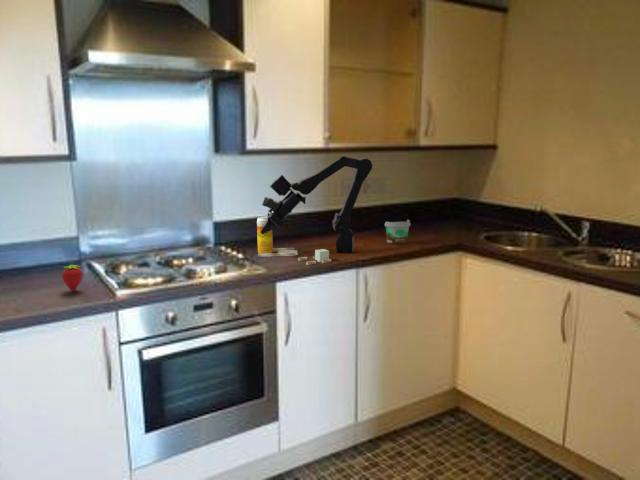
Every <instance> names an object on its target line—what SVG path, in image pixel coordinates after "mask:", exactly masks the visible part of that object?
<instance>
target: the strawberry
mask: <svg viewBox="0 0 640 480" xmlns="http://www.w3.org/2000/svg"><path fill="white" fill-rule="evenodd" d="M82 266H83V265H76V264H73V262H71V263H70V264H69V265H67V266H64V267H62V268H63V269H64V270H63V271H62V273H61V274H62V275H61V277H62V280H63V282H64V283H65V285H66V286H67V287H68V288H69V290H70V291H71V292H72V293H74V292H75V291H77V289H78V287H79V285H80V284H81V282H82V280H83V275H84V274H83V270H82V269H81V267H82Z"/></svg>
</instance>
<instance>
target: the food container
mask: <svg viewBox="0 0 640 480" xmlns="http://www.w3.org/2000/svg"><path fill="white" fill-rule="evenodd" d="M384 227H385V232H386V233H385V234H386V235H385V236H386V244H387V243H388V245H392V244H403V245H406V243H407V244H408V237H409V230H410V227H411V221H410V220H409V219H407V220H405V221H385V223H384Z"/></svg>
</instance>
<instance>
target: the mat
mask: <svg viewBox="0 0 640 480" xmlns="http://www.w3.org/2000/svg"><path fill="white" fill-rule="evenodd" d="M277 253H295V256H298V255H299V253H298V250H297V249H296V250H295V249H294V250H283V251H277Z"/></svg>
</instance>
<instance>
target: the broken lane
mask: <svg viewBox="0 0 640 480" xmlns="http://www.w3.org/2000/svg"><path fill="white" fill-rule="evenodd" d="M312 259H314V260H310V261H309V260H308V257H307V256H302V257H301V256H300V257H298V258H297V261H299V262H301V261H306V262H305V263H306V264H305V265H307V266H310V265H316V264H317V261H316V260H315V255H313V256H312ZM321 263H322V264H326V263H332V258H329V259H325V260H322V262H321Z"/></svg>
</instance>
